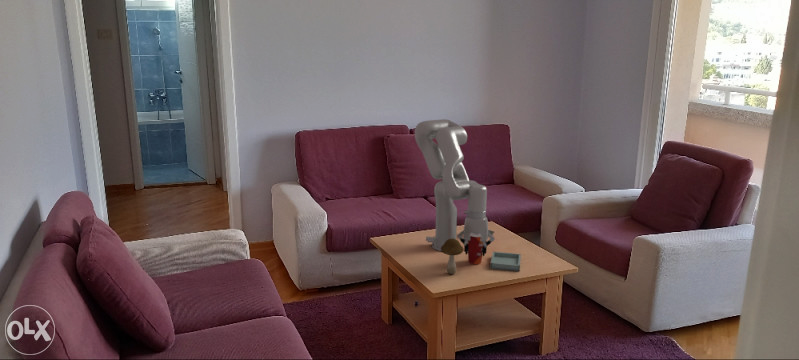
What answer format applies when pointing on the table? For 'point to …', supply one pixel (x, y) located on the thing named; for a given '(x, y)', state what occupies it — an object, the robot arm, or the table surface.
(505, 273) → the table surface
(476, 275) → the table surface
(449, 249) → the mushroom
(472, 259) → the paper cup
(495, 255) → the tray
